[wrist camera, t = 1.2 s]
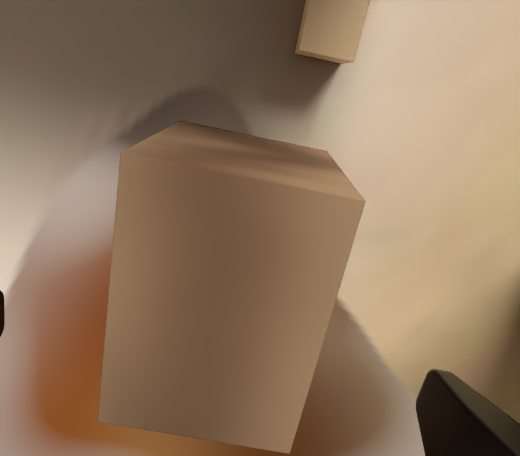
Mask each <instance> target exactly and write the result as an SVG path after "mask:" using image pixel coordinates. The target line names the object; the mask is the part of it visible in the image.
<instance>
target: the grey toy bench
mask: <svg viewBox="0 0 520 456" xmlns="http://www.w3.org/2000/svg"><path fill="white" fill-rule="evenodd" d="M369 1H370V0H306V2H305V7H304V11H303V16H302V21H301V26H300V30H299V35H298V40H297V44H296V49H295V54H299V55H304V56H309V57H313V58H318V59H322V60H327V61H332V62H336V63H341V64H342V63H348V62H354V59H355V55H356V51H357V47H358V43H359V40H360V36H361V32H362V28H363V24H364V20H365V16H366V13H367V9H368V5H369Z"/></svg>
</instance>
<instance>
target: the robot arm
mask: <svg viewBox="0 0 520 456" xmlns="http://www.w3.org/2000/svg"><path fill="white" fill-rule="evenodd" d="M3 329H4V295H3V293H2V292H1V291H0V336H1V334H2V332H3ZM416 412H417V417H418V422H419V427H420V432H421V436H422V441H423V446H424V451H425V456H520V424H519V423H518V422H516V421H515V420H514V419H512V418H511V417H510V416H508V415H507V414H506V413H504V412H503V411H502V410H500V409H499V408H498V407H496V406H495V405H494V404H492V403H491V402H490V401H489V400H487V399H486V398H485V397H483V396H482V395H481V394H479V393H478V392H477V391H475V390H474V389H473V388H471V387H470V386H469V385H467V384H466V383H465V382H463V381H462V380H461V379H459V378H458V377H457V376H455V375H454V374H453V373H451V372H448V371H442V370H437V369H432V370H430V371H429V372H428V373H427V375H426V378H425V380H424V383H423V385H422V387H421V390H420V392H419V395H418V397H417V401H416Z"/></svg>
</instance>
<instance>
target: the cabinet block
mask: <svg viewBox="0 0 520 456" xmlns="http://www.w3.org/2000/svg"><path fill="white" fill-rule="evenodd" d="M364 204H365V200H364V199H363V197H362V196H361V195H360V194H359V192H358V191H357V190H356V188H355V187H354V186H353V185H352V183H351V182H350V181H349V179H348V178H347V177H346V175H345V174H344V173H343V172H342V170H341V169H340V168H339V166H338V165H337V164H336V162H335V161H334V160H333V159H332V157H331V156H330V155H329V153H328V152H327V151H323V150H319V149H314V148H309V147H304V146H299V145H294V144H289V143H285V142H280V141H275V140H270V139H265V138H260V137H255V136H252V135H247V134H242V133H237V132H233V131H228V130H223V129H218V128H213V127H208V126H204V125H198V124H194V123H188V122H184V121H179V122H177V123H175V124H173V125H171V126H169V127H167V128H166V129H164V130H162V131H160V132H158V133H156V134H154V135H153V136H150V137H149V138H147V139H145V140H143V141H141V142H139V143H137V144H135V145H133V146H132V147H130V148H128V149H126V150H124V151H122V152H121V155H120V167H119V179H118V190H117V202H116V214H115V225H114V238H113V249H112V261H111V273H110V284H109V296H108V308H107V321H106V332H105V344H104V355H103V367H102V379H101V390H100V402H99V414H98V422H103V423H108V424H114V425H121V426H126V427H132V428H139V429H145V430H150V431H157V432H163V433H169V434H175V435H180V436H186V437H192V438H198V439H205V440H211V441H216V442H222V443H228V444H235V445H241V446H247V447H252V448H259V449H265V450H271V451H277V452H283V453H290V450H291V447H292V444H293V440H294V437H295V434H296V430H297V427H298V424H299V420H300V417H301V414H302V410H303V407H304V404H305V401H306V397H307V394H308V391H309V387H310V384H311V381H312V377H313V373H314V371H315V367H316V364H317V361H318V357H319V354H320V351H321V347H322V344H323V341H324V337H325V334H326V331H327V327H328V324H329V320H330V317H331V314H332V311H333V307H334V304H335V301H336V297H337V294H338V291H339V287H340V284H341V281H342V278H343V274H344V271H345V268H346V264H347V261H348V258H349V254H350V251H351V248H352V244H353V241H354V238H355V234H356V231H357V228H358V224H359V221H360V218H361V214H362V211H363V208H364Z"/></svg>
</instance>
